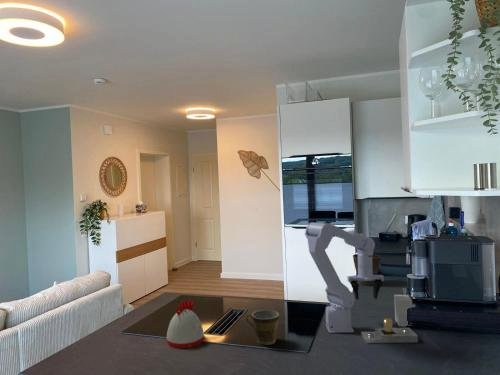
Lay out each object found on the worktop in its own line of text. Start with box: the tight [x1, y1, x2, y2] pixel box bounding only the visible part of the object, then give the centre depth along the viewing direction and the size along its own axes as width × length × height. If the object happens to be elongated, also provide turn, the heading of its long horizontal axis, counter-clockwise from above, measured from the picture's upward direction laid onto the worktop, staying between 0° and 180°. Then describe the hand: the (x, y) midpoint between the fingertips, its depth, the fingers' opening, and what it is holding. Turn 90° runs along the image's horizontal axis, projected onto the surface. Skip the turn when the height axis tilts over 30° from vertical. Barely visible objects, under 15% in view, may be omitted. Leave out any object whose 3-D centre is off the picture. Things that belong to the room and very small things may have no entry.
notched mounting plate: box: [360, 327, 419, 344], centre depth 139 cm, size 18×8×3 cm, turn 88°
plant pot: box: [352, 253, 381, 287], centre depth 214 cm, size 15×15×16 cm
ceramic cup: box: [245, 309, 280, 346], centre depth 140 cm, size 13×10×10 cm
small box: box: [393, 294, 413, 327], centre depth 153 cm, size 8×6×10 cm
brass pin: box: [383, 317, 394, 335], centre depth 139 cm, size 3×3×7 cm
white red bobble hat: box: [166, 299, 205, 349], centre depth 143 cm, size 14×14×15 cm
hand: (366, 298), depth 157 cm, fingers open, 7 cm apart
